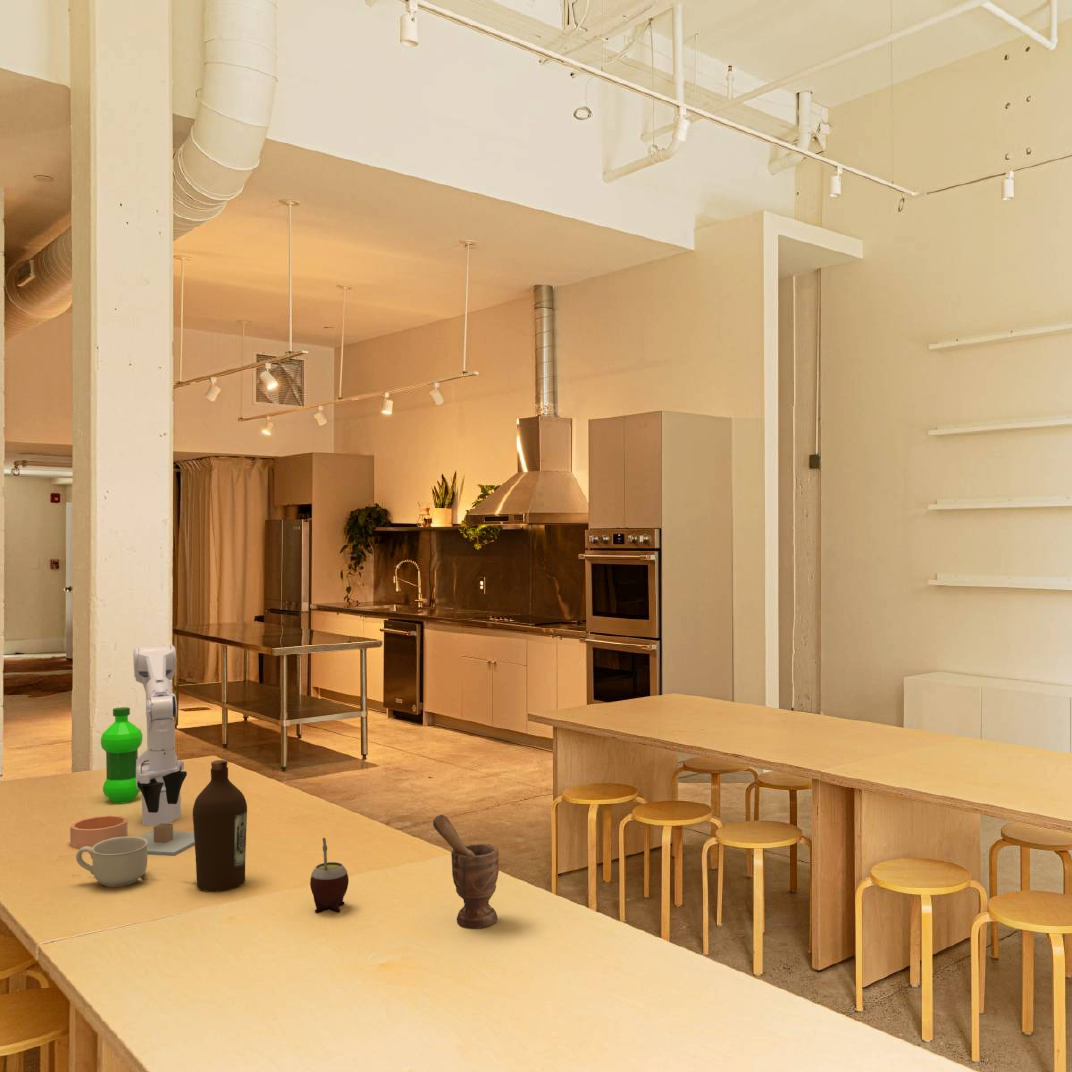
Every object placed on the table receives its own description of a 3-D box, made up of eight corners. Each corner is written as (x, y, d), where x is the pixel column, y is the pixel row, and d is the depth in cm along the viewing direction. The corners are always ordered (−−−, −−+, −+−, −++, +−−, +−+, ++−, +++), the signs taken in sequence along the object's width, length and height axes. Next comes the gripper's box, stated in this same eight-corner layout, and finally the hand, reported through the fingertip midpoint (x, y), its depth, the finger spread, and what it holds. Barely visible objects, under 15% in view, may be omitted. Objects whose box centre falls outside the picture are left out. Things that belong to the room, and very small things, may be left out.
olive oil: (186, 893, 205) (185, 767, 205) (202, 876, 215) (200, 756, 215) (240, 892, 205) (239, 766, 205) (253, 875, 216) (251, 755, 216)
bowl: (93, 835, 247) (93, 814, 247) (138, 838, 244) (137, 817, 244) (59, 850, 235) (59, 828, 235) (105, 853, 232) (105, 831, 232)
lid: (153, 832, 246) (153, 815, 246) (210, 835, 242) (210, 818, 242) (114, 851, 231) (113, 833, 231) (173, 855, 228) (173, 836, 228)
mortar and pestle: (455, 938, 180) (454, 823, 180) (428, 924, 186) (427, 814, 186) (508, 922, 187) (507, 812, 187) (481, 909, 194) (479, 803, 194)
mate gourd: (335, 899, 200) (333, 822, 200) (358, 909, 195) (357, 829, 195) (301, 909, 195) (300, 830, 195) (324, 920, 190) (323, 838, 190)
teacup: (157, 874, 217) (157, 836, 217) (132, 892, 206) (131, 852, 207) (94, 873, 219) (94, 835, 219) (66, 890, 208) (65, 851, 208)
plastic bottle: (114, 795, 286) (113, 705, 286) (150, 796, 284) (149, 705, 284) (94, 805, 276) (92, 711, 276) (131, 805, 275) (129, 711, 275)
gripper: (159, 755, 229) (159, 817, 229) (195, 742, 243) (196, 800, 243) (130, 754, 231) (131, 815, 230) (168, 742, 245) (169, 799, 245)
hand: (162, 807), depth 237 cm, fingers open, 7 cm apart
